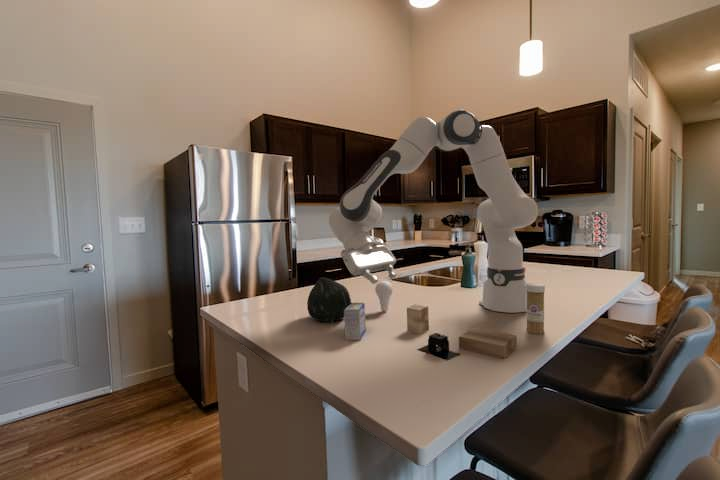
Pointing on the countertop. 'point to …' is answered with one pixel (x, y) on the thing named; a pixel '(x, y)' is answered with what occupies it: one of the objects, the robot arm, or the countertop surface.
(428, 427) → the countertop surface
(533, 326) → the sprinkles bottle
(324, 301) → the squash
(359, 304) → the medicine box
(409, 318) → the oak block
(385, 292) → the lightbulb
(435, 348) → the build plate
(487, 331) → the walnut base block
